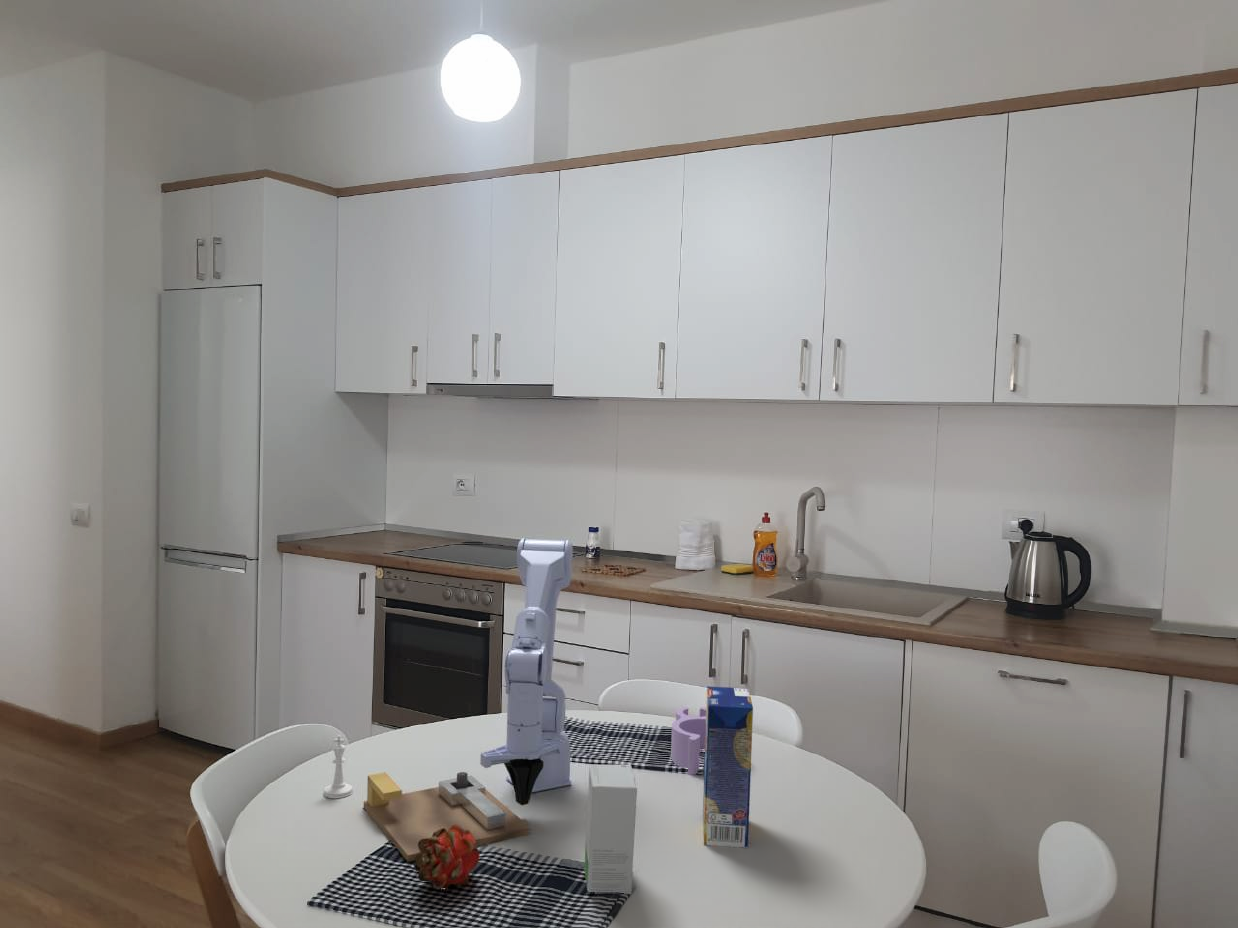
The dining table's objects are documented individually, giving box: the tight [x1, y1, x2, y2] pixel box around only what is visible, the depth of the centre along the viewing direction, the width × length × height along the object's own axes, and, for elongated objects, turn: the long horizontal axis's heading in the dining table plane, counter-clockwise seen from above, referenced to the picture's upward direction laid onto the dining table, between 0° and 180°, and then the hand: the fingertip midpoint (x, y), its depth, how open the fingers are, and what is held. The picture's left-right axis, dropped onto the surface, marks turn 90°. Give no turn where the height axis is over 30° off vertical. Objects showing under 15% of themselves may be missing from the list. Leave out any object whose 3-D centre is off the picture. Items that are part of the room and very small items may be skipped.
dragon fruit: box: [413, 825, 480, 890], centre depth 130 cm, size 8×8×12 cm
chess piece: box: [323, 734, 354, 799], centre depth 160 cm, size 5×5×10 cm
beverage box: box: [702, 685, 754, 849], centre depth 149 cm, size 7×11×22 cm, turn 176°
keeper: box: [366, 772, 403, 807], centre depth 151 cm, size 3×8×4 cm, turn 32°
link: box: [438, 775, 505, 830], centre depth 152 cm, size 17×6×2 cm, turn 32°
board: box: [363, 771, 531, 863], centre depth 150 cm, size 20×22×5 cm
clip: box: [670, 706, 707, 776], centre depth 183 cm, size 20×12×7 cm, turn 5°
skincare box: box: [584, 764, 638, 895], centre depth 131 cm, size 8×7×16 cm
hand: (522, 802), depth 152 cm, fingers closed
